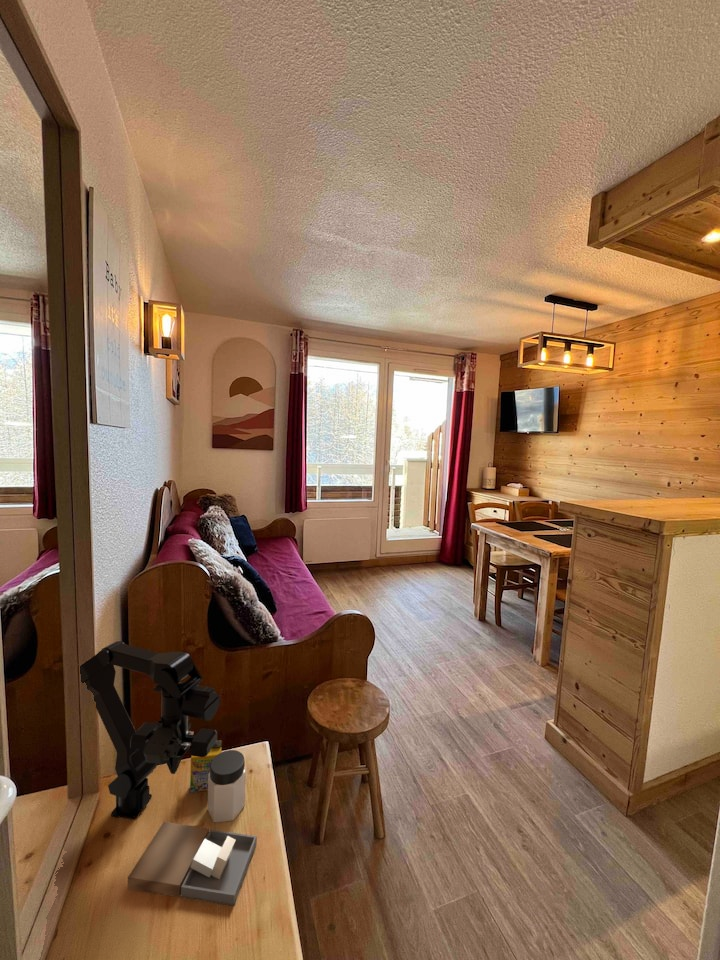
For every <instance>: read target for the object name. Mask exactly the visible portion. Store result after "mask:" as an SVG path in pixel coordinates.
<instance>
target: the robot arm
mask: <svg viewBox="0 0 720 960" xmlns="http://www.w3.org/2000/svg"><path fill="white" fill-rule="evenodd" d="M88 659H89V660H88ZM88 659H87V660H88V661H86V660H85V661H86V662H85V663H84V664H82V665H81V666H80V674H81V682H82V683H84V682H85V683H86V685H87V689H88V690H90V691H91V692H92V693H93V695H94V701H95V702H96V707H95V709H96V711H97V714H98V715H99V717H100V719H101V721H102V724H103V726H104V728H105V730H106V732H107V734H108V736H109V739H110V740H111V743H112V745H113V747H114V749H115V752H116V759H115V766H114V767H115V769H114V770H115V772H116V775H117V776H116V777H115V778H114V779H113V780H112V781H111V782H110V783H109V784H108V786H107V787H108V790H109V794H110V795H112V796H115V808H114V809H113V810H112V811H111V812H110V816H111V817H117V818H122V819H129V820H136V819H137V818H138V816H139V815H140V814H141V813H142V812H143V810H145V807H146V806H147V805H148V803H149V802H150V800H151V799H152V797H153V795H152V794H151V793H150V785H149V778H148V776H150V774H153V772H154V770H155V769H156V768H157V767H158V765H160V766H161V765H164V764H166V765H167V768H168V770H169V772H170V774H171V775H175V774H176V772H177V771H178V769H179V767H180V764H181V762H182V759H183V756H184V755H185V754H186V753H187V751H188V753H190V755H191V756H197V757H205V756H207V755H208V753H209V751H210V750H211V748H212V747H213V745H214V744H215V742H216V741H218V732H217V730H216V729H211V728H203V727H201V728H200V729H199V730H198V732H197V733H196V735H195V734H194V731H191V730H190V729H191V725H192V723H191V722H189V717H190V718H195V719H199V720H202V721H207V722H209V721H211V720H212V719H214V717H215V715H216V714H217V712H218V709H219V706H220V703H221V702H220V701H221V696H220V695H219V693H218V692H217V691H215V687H212V686H204V685H200V682H201V681H203V676H202V674H201V671H200V670H199V668H198V667H197V665H196V663H195V662H194V660H193V659H192V657H191V655H190V654H189V653H187V652H185V651H168V652H157V651H154V650H149V649H145V648H142V647H138V646H134V645H131V644H126V643H125V642H124V641H122V640H119V641H114V642H112V643H110V644H109V645H106V646H105V647H103V648H101V649H100V650H99V651H97V653H96V654H94V655H93V656H92V657H91V659H90V658H88ZM115 666H116V667H119V668H123V669H125V670H131V671H134V672H137V673H141V674H145V675H147V676H149V677H150V678H151V680H152V683H154V684H156V685H155V686H154V687H153V691H154V692H158V693H161V707H160V708H161V710H160V711H161V712H160V713H161V714H160V715H161V717H159V719H158V720H157V722H152V721H151V722H150V721H145V722H143V724H142V725H141V726H140V727H139V728H138V729H137V730H136V729H135V726H134V724H133V722H132V720H131V718H130V716H129V713H128V712H127V709H126V708H125V706H124V704H123V702H122V699H121V698H120V695H119V693H118V691H117V689H116V687H115V679H116V673H117V671H116V668H115ZM188 676H189V677H190V678H188V679H187V680H185V681H184V682H181V681H182V680H184V679H185V678H187V677H188Z"/></svg>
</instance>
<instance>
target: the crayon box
mask: <svg viewBox="0 0 720 960" xmlns="http://www.w3.org/2000/svg"><path fill="white" fill-rule="evenodd" d="M222 742H223V741H222V739H220V740H218V739H217V741H216V742H215V744H214V745H213V747H212V748H211V750H210V751H209V753H208V755H207V756H205V757H197V756H192V755H191V757H190V776H189V778H190V782H189V793H194V792H195V793H196V792H204V791H208V774H209V773H210V764H211V761H212V760H213V758H214V757H215V756H217V755H218V754H219V753H221V752H223V751H222V749H223V748H222Z"/></svg>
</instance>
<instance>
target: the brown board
mask: <svg viewBox="0 0 720 960" xmlns="http://www.w3.org/2000/svg"><path fill="white" fill-rule="evenodd" d="M209 831H210V828H209V827H203V826H196V825H189V824H182V823H176V822H169V821H163V822H162V823H161V825H160V826H159V829H158V830H157V832H156V833H155V835H154V836H153V838H152V839H151V841H150V842H149V844H148V845H147V847H146V849H145V850H144V851H143V853H142V854H141V856H140V858H139V860H138V861H137V862H136V864H135V865H134V867H133V869H132V870H131V871H130V873H129V875H127V890H132V891H133V890H134V891H138V892H146V893H151V894H158V895H163V896H171V897H177V898H181V886H182V884H183V882H184V880H185V878H186V876H187V874H188V872H189V870H190V869H191V868H190V867H191V864H192V861H193V859H194V857H195V855H196V853H197V852H198V850H199V848H200V846H201V844H202V843H203V841H204V839H206V837H207V835H208V833H209Z"/></svg>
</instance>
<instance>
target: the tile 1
mask: <svg viewBox="0 0 720 960" xmlns="http://www.w3.org/2000/svg"><path fill="white" fill-rule="evenodd" d="M221 848H222V847H220V846H218V845H216V844H214V843H213V842H211V841H209V840H207V839H204V841H203V843H202V844H201V846H200V848H199V850H198V852H197V853H196V855H195V857H194V859H193V861H192V864H191V867H190V868H192V869H194V870H196V871H198V872H200V873H202V874H204V875H206V876H207V877H209V878H210V876H211V873H212V870H213V868H214V865H215V862H216V859H217V856H218V854H219V852H220V850H221Z"/></svg>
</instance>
